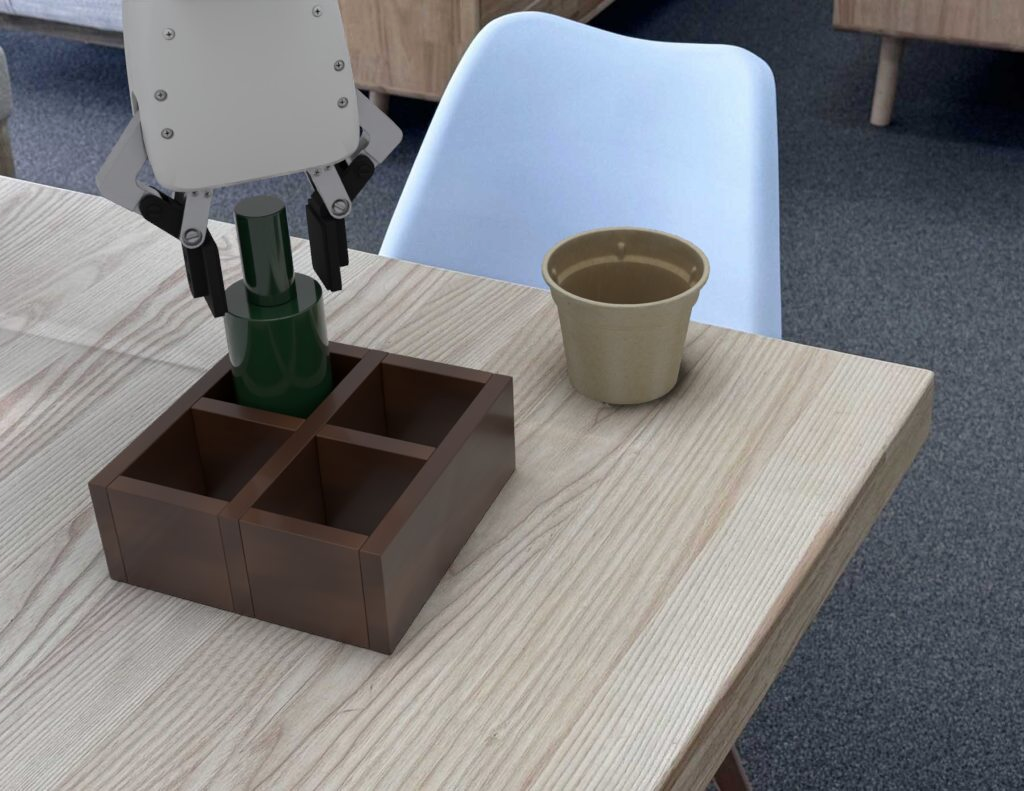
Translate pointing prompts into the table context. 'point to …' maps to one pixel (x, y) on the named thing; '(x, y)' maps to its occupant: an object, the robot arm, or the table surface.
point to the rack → (312, 494)
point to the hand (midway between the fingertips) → (271, 289)
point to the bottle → (275, 318)
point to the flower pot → (624, 308)
